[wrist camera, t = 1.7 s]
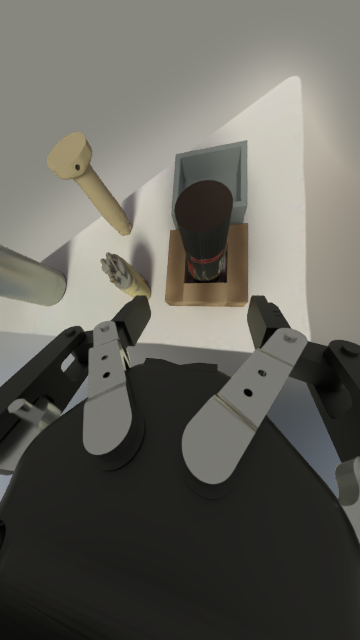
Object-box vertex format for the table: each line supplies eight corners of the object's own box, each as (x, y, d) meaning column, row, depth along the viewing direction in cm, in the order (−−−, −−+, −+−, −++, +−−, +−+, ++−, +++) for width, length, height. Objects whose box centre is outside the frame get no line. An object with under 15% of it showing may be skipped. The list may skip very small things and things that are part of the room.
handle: (110, 232, 36) (42, 157, 21) (131, 214, 35) (76, 126, 21) (120, 245, 35) (55, 176, 20) (141, 228, 34) (91, 144, 20)
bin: (177, 233, 32) (171, 214, 27) (180, 181, 34) (175, 154, 29) (241, 227, 29) (247, 205, 25) (241, 171, 31) (247, 140, 26)
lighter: (125, 279, 33) (90, 254, 23) (139, 269, 33) (109, 240, 23) (140, 305, 32) (110, 289, 22) (155, 295, 31) (130, 274, 21)
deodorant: (219, 287, 29) (228, 233, 14) (189, 284, 30) (169, 231, 15) (223, 259, 29) (237, 178, 15) (194, 257, 31) (179, 181, 16)
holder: (170, 305, 30) (164, 301, 27) (174, 242, 32) (170, 230, 29) (243, 306, 27) (247, 301, 24) (243, 236, 29) (248, 223, 26)
